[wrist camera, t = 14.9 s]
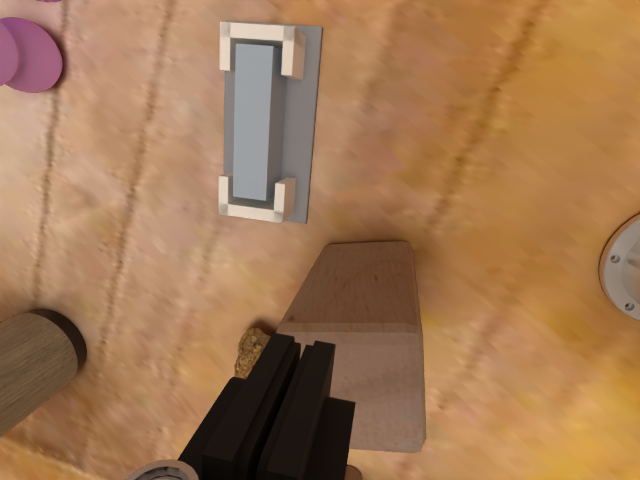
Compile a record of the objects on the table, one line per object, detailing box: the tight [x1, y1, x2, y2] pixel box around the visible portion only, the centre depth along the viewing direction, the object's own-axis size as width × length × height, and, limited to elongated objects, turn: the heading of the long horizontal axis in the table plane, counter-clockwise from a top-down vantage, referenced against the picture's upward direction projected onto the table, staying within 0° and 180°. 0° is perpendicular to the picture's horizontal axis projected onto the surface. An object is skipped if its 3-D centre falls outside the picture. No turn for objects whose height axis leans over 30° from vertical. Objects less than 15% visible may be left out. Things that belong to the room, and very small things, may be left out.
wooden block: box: [276, 241, 426, 453], centre depth 35 cm, size 10×10×20 cm
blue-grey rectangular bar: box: [233, 44, 287, 201], centre depth 38 cm, size 14×4×5 cm, turn 175°
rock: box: [234, 328, 271, 379], centre depth 47 cm, size 12×9×10 cm
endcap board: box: [219, 21, 323, 224], centre depth 39 cm, size 10×20×5 cm, turn 175°
